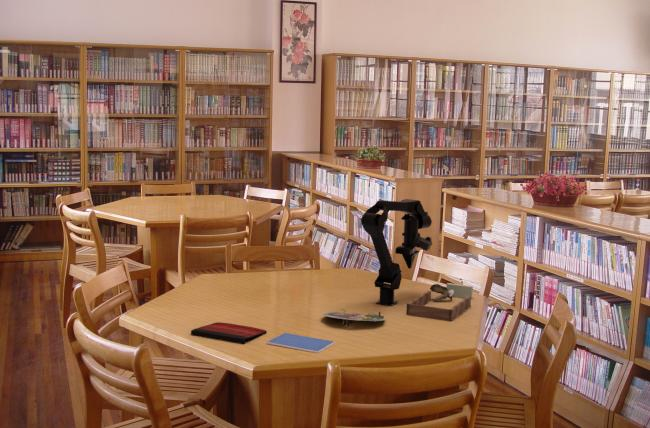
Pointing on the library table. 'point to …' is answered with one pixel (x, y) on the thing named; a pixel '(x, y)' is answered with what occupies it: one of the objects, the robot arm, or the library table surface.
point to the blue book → (301, 342)
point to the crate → (434, 312)
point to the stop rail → (460, 290)
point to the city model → (354, 317)
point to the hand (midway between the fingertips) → (409, 268)
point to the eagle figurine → (441, 292)
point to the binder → (228, 332)
